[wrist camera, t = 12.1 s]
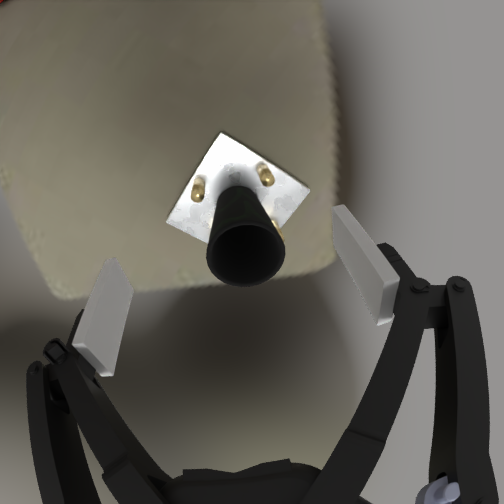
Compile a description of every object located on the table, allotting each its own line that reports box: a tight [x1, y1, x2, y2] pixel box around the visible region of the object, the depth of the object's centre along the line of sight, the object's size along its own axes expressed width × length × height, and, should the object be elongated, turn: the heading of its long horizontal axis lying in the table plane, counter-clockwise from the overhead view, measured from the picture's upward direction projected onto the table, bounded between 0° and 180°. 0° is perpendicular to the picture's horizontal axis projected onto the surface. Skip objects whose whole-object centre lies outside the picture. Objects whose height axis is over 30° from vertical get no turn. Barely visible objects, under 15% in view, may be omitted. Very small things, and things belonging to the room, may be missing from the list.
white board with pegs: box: [166, 132, 310, 243], centre depth 37 cm, size 14×14×6 cm
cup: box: [206, 186, 285, 287], centre depth 33 cm, size 8×8×12 cm
